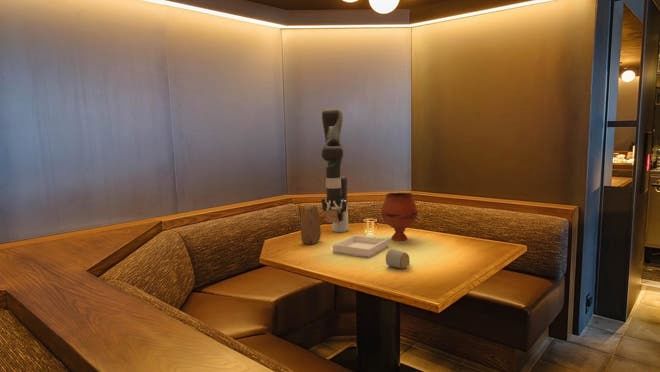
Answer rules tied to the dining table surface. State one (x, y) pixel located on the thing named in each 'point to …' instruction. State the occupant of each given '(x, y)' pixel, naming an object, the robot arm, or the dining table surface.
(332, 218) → the cube
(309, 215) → the block
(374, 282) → the dining table surface
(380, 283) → the dining table surface
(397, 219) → the goblet
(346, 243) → the tray
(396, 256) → the grey barrel
